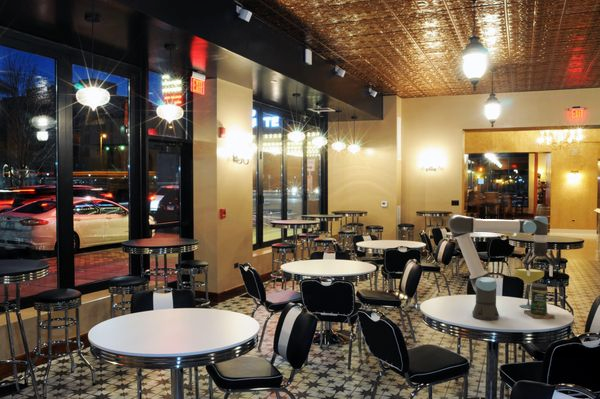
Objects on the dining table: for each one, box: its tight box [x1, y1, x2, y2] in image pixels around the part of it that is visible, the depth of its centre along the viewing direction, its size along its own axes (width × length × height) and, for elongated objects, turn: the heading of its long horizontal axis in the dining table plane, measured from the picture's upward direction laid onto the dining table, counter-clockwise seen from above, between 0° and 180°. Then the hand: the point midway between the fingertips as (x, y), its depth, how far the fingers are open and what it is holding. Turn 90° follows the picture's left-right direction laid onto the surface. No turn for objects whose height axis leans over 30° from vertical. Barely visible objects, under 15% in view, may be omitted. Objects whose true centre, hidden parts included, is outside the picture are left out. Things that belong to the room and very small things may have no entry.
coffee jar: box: [529, 282, 549, 315], centre depth 313 cm, size 10×8×19 cm
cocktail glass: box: [513, 267, 545, 310], centre depth 336 cm, size 18×18×25 cm
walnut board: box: [523, 309, 556, 319], centre depth 313 cm, size 13×13×2 cm
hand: (539, 276), depth 313 cm, fingers open, 13 cm apart
